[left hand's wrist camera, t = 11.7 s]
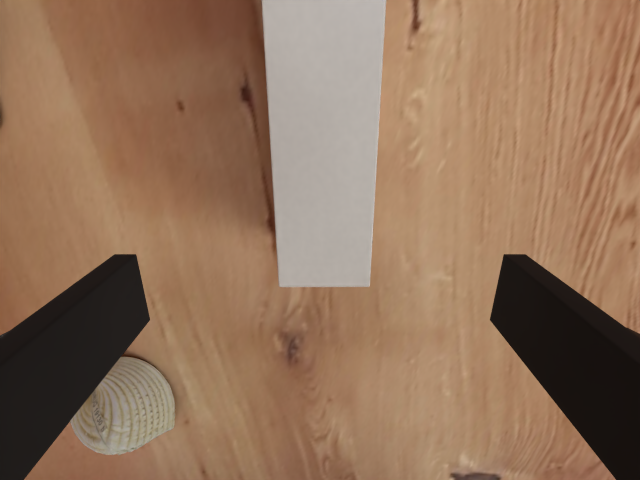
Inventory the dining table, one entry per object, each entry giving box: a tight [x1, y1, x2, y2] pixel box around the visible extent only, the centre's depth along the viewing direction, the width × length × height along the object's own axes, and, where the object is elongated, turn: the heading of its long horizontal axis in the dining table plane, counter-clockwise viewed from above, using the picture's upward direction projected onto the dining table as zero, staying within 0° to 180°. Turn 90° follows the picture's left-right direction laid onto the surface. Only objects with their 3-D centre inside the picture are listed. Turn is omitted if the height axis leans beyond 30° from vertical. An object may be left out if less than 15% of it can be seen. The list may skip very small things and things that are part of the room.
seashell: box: [70, 357, 175, 455], centre depth 32 cm, size 8×8×8 cm
